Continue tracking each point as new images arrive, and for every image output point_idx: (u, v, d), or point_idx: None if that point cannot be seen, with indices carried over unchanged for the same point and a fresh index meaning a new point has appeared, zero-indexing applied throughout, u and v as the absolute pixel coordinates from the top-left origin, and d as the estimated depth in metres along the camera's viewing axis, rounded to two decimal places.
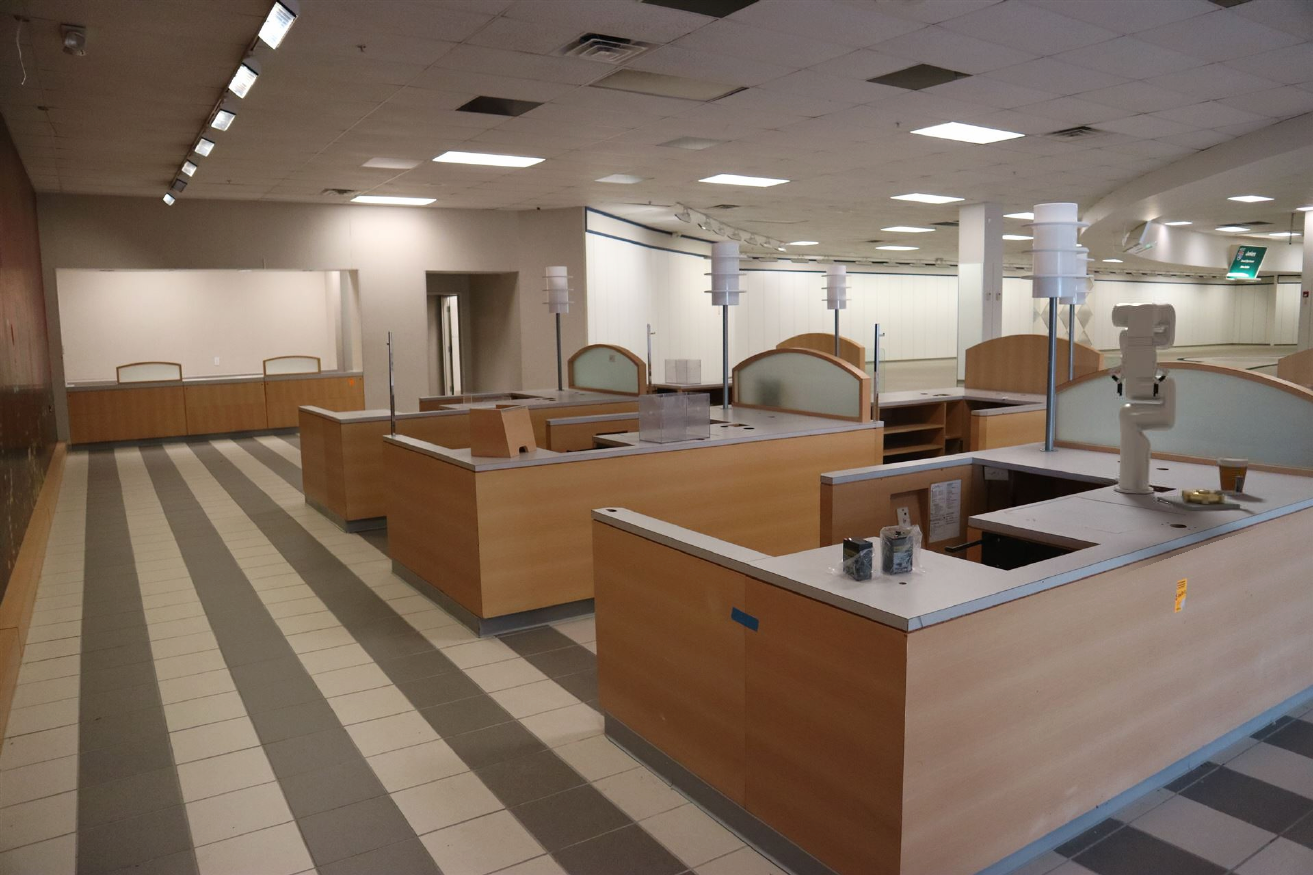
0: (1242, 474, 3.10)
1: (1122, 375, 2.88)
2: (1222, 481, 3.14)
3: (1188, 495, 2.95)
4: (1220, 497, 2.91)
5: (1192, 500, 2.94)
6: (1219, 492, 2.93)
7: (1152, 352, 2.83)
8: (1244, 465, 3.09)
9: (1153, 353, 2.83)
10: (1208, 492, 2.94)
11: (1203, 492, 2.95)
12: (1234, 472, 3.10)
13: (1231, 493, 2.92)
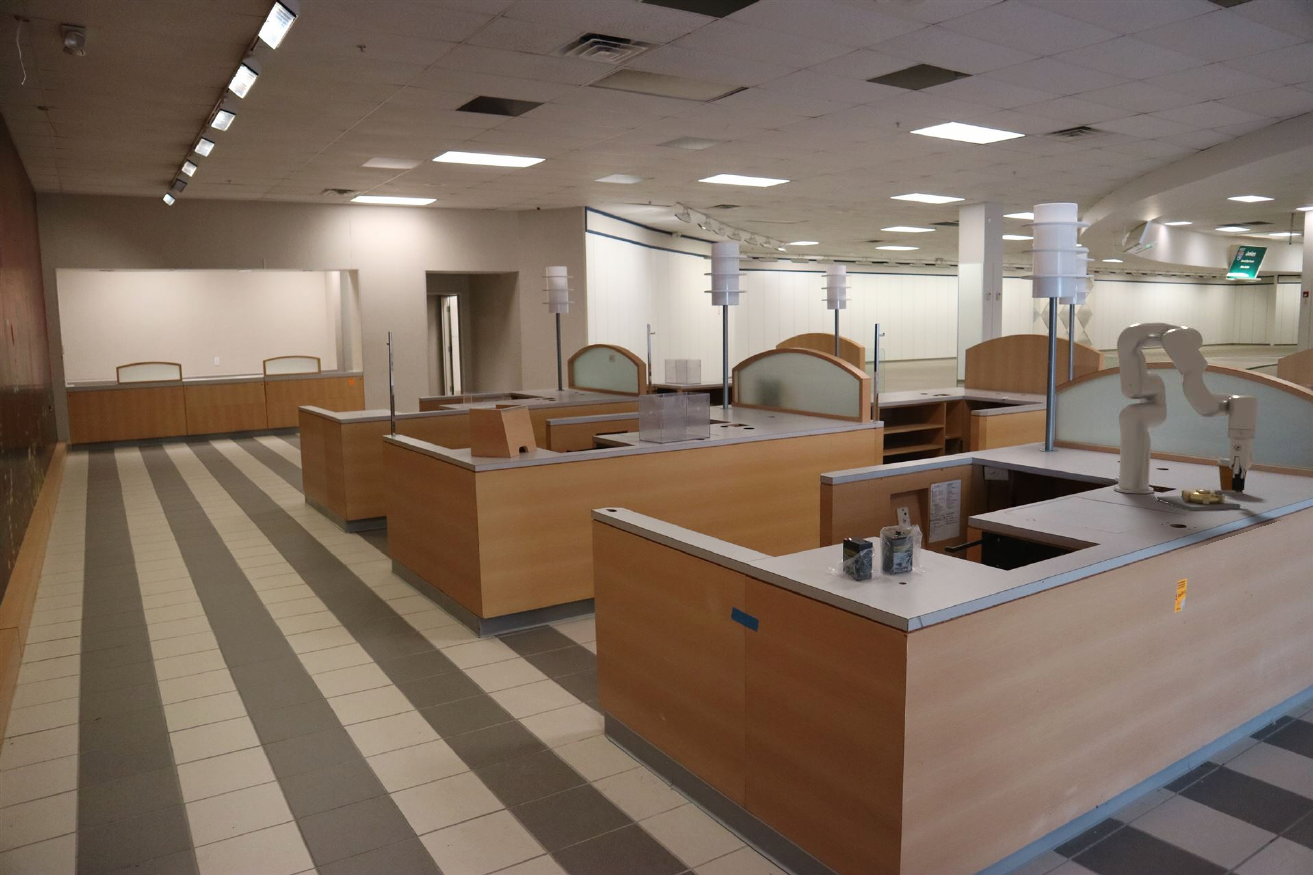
0: None
1: None
2: (1222, 481, 3.14)
3: (1188, 495, 2.95)
4: (1220, 497, 2.91)
5: (1192, 500, 2.94)
6: (1219, 492, 2.94)
7: None
8: None
9: (1231, 445, 2.86)
10: (1208, 492, 2.94)
11: (1203, 492, 2.95)
12: None
13: (1231, 493, 2.92)
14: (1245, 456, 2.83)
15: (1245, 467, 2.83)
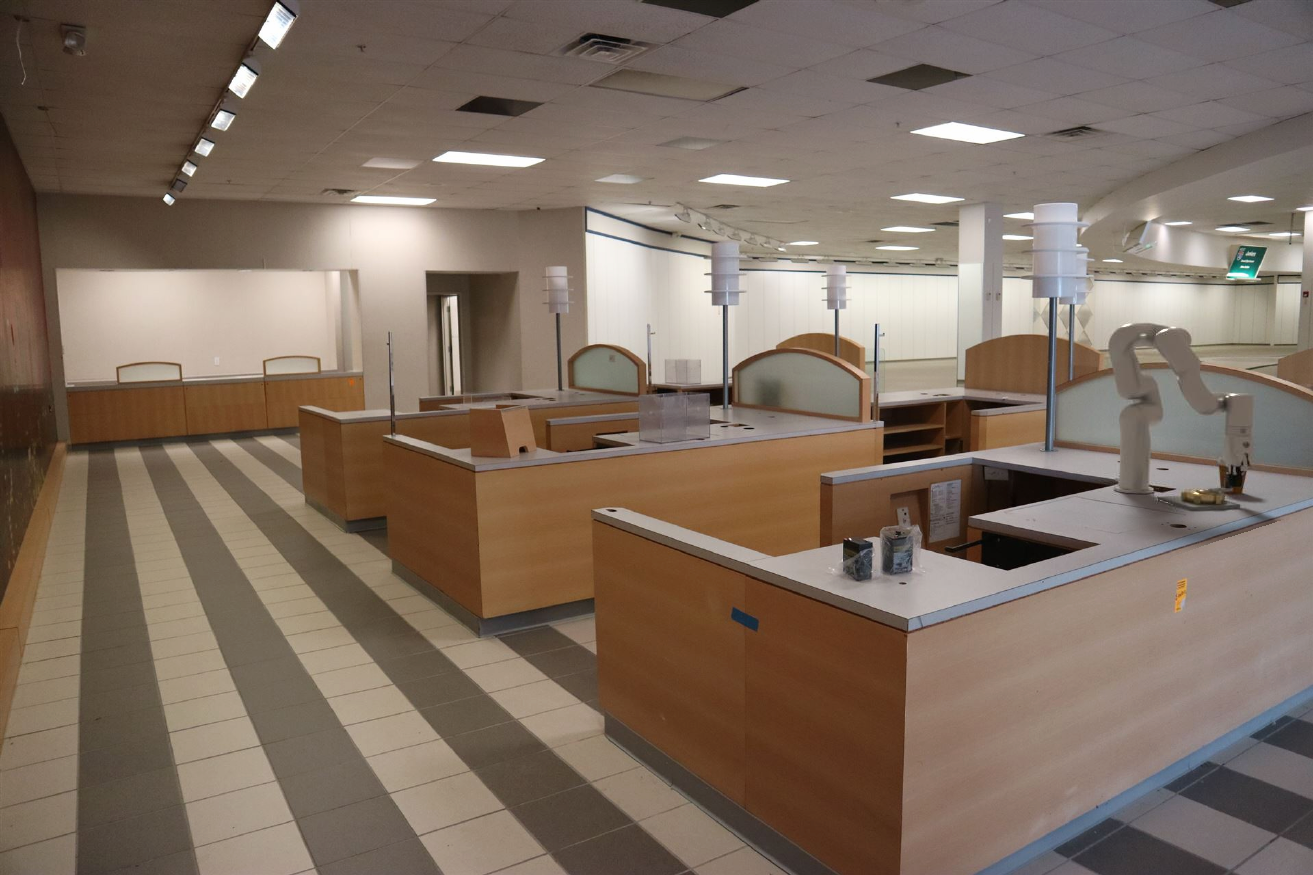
0: None
1: (1223, 460, 2.98)
2: (1222, 481, 3.14)
3: (1200, 497, 2.92)
4: (1223, 495, 2.94)
5: (1205, 501, 2.92)
6: (1216, 490, 2.96)
7: (1237, 441, 2.89)
8: None
9: (1238, 443, 2.89)
10: (1209, 491, 2.95)
11: (1207, 492, 2.94)
12: None
13: (1225, 490, 2.97)
14: (1252, 452, 2.88)
15: (1252, 463, 2.89)
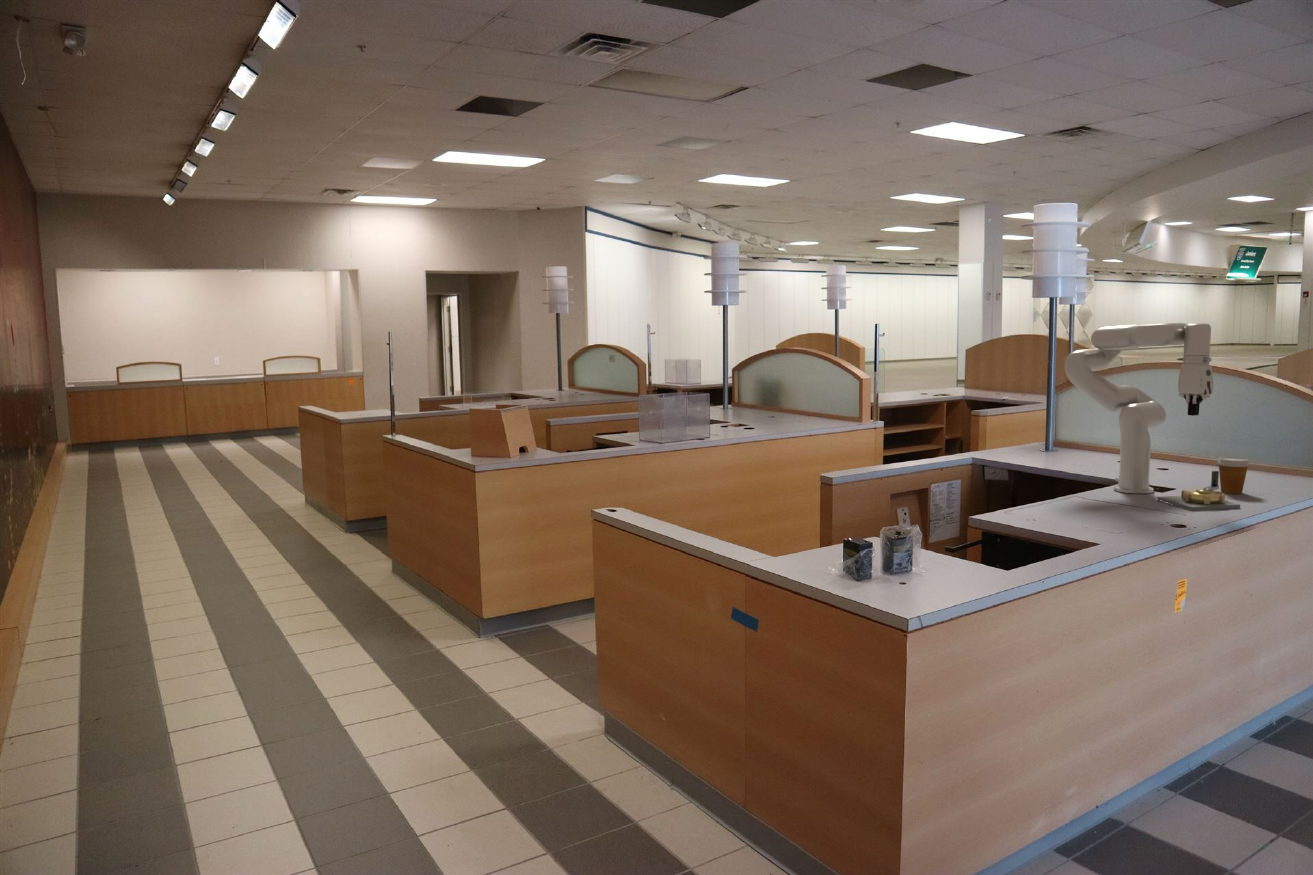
0: (1242, 474, 3.10)
1: None
2: (1222, 481, 3.14)
3: None
4: None
5: (1213, 501, 2.91)
6: (1211, 489, 2.98)
7: (1200, 370, 2.95)
8: (1244, 465, 3.09)
9: (1201, 371, 2.95)
10: None
11: (1209, 492, 2.95)
12: (1234, 472, 3.10)
13: (1215, 488, 3.00)
14: None
15: (1212, 391, 2.96)
